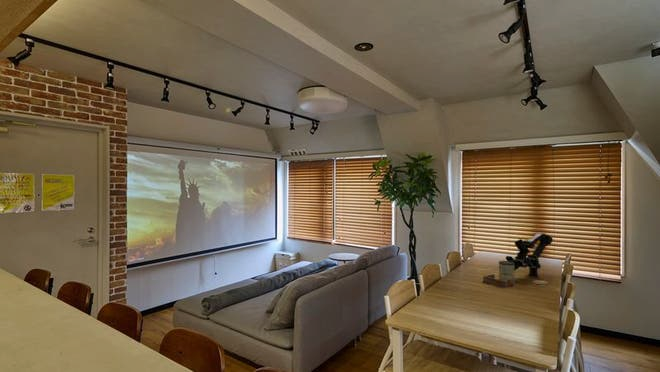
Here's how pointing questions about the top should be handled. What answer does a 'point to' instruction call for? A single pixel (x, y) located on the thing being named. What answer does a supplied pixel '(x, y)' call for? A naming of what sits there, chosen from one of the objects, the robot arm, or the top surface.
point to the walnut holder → (497, 281)
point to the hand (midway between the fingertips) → (514, 270)
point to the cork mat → (539, 282)
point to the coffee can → (506, 270)
